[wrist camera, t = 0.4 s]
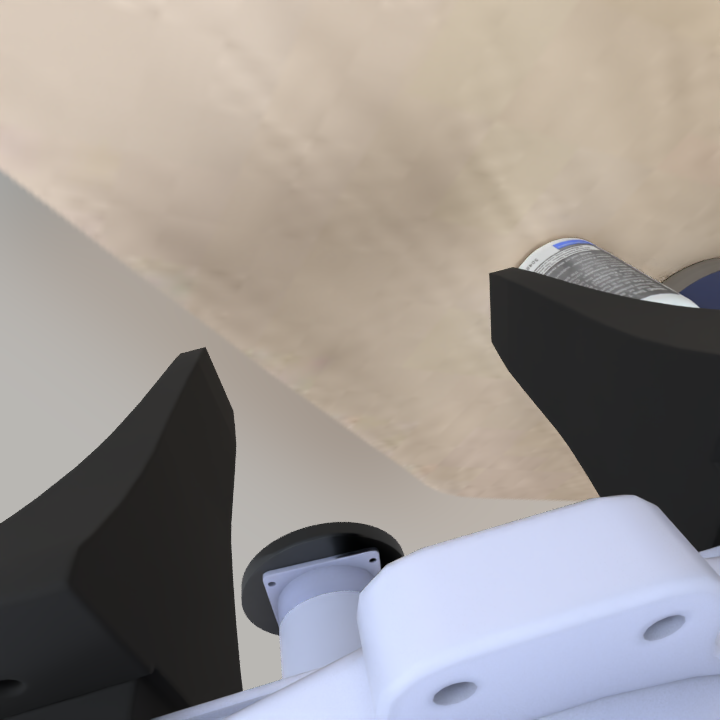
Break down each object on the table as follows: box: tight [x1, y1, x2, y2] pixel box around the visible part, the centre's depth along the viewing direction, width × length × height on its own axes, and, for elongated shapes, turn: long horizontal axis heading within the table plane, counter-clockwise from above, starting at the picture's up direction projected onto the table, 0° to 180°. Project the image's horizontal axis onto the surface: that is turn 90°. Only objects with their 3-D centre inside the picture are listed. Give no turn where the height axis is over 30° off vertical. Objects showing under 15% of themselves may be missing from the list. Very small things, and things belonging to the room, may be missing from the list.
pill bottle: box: [519, 238, 699, 308], centre depth 19 cm, size 5×5×8 cm
